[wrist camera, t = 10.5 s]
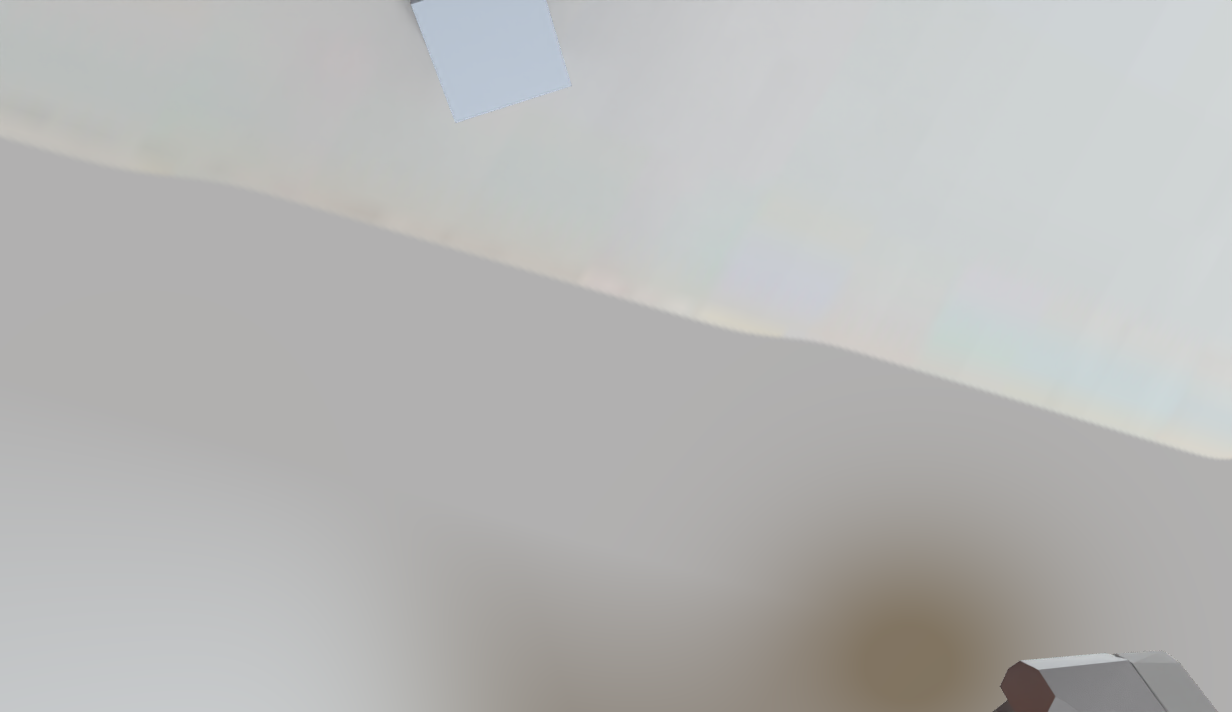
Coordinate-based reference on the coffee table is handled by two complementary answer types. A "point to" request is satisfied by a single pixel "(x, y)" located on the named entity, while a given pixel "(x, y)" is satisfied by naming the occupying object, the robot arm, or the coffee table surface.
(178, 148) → the coffee table surface
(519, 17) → the slate block
